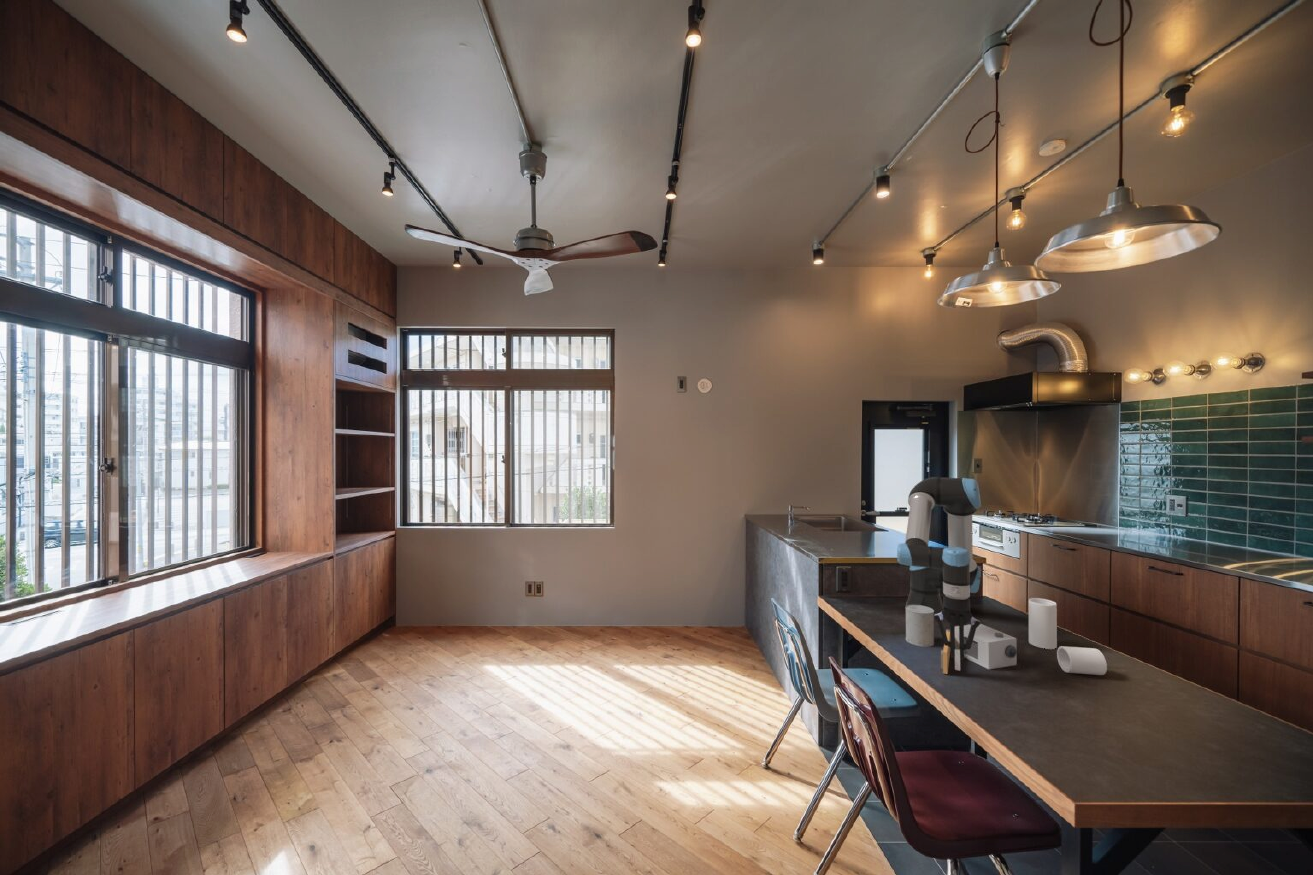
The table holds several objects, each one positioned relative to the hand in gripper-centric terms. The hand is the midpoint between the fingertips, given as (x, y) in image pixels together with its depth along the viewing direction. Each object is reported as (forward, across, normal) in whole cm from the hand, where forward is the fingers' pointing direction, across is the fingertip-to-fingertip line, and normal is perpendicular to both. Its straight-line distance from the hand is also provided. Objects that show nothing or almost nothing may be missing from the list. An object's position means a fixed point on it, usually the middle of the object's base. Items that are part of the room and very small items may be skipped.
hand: (957, 668), depth 161 cm
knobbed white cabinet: (+2, +9, +18) cm, 20 cm away
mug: (+2, +35, +22) cm, 41 cm away
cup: (+2, +29, +42) cm, 50 cm away
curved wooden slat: (+2, -3, +8) cm, 9 cm away
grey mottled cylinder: (+2, -11, +23) cm, 26 cm away
